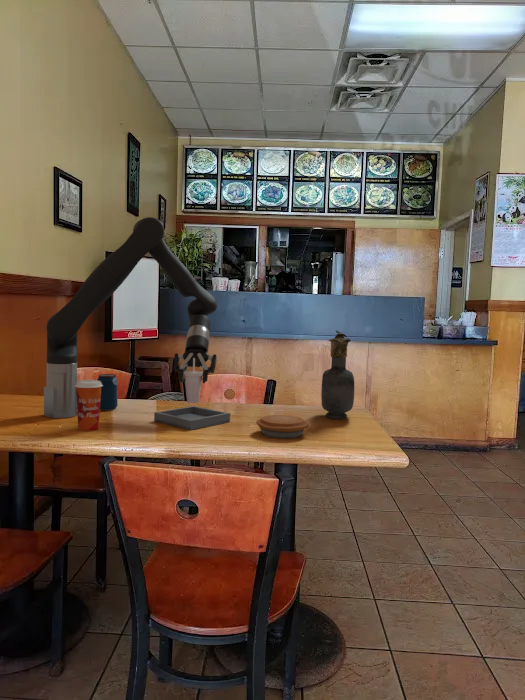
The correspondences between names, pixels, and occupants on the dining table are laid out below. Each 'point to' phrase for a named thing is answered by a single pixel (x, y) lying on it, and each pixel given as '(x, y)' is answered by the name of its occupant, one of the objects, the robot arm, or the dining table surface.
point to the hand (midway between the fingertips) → (192, 381)
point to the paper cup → (88, 404)
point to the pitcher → (338, 381)
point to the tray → (192, 417)
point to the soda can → (108, 391)
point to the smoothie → (193, 384)
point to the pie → (282, 426)
